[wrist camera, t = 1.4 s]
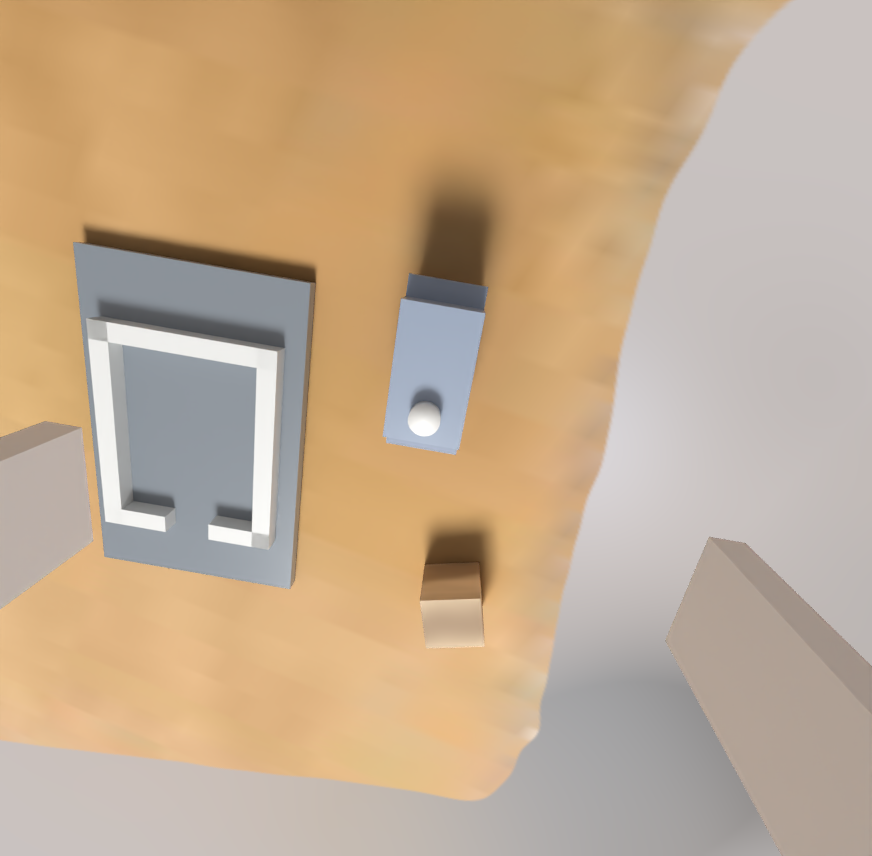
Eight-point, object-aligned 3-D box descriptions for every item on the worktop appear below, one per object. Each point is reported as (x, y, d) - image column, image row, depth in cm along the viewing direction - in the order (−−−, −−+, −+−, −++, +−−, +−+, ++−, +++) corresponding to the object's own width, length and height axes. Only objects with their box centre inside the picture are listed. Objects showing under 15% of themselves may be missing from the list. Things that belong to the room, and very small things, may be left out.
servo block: (417, 272, 27) (402, 274, 20) (484, 283, 27) (491, 290, 20) (397, 417, 30) (377, 461, 23) (456, 427, 30) (454, 475, 23)
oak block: (424, 563, 34) (419, 600, 30) (478, 561, 34) (480, 598, 30) (430, 607, 35) (426, 648, 32) (482, 605, 35) (484, 646, 31)
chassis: (86, 242, 28) (55, 240, 26) (315, 282, 28) (303, 284, 26) (114, 549, 35) (92, 566, 33) (294, 580, 35) (284, 600, 33)
